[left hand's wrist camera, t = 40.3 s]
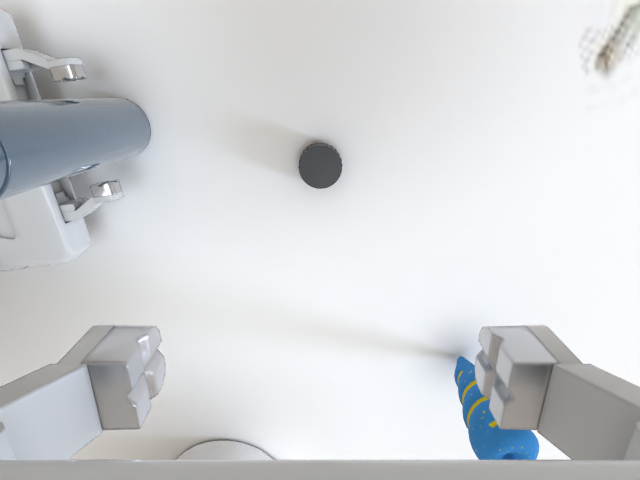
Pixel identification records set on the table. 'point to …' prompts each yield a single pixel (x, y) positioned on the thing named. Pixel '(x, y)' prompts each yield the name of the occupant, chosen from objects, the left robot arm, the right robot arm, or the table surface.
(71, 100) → the bottle
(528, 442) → the ornament
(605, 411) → the left robot arm
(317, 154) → the cap
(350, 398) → the table surface
